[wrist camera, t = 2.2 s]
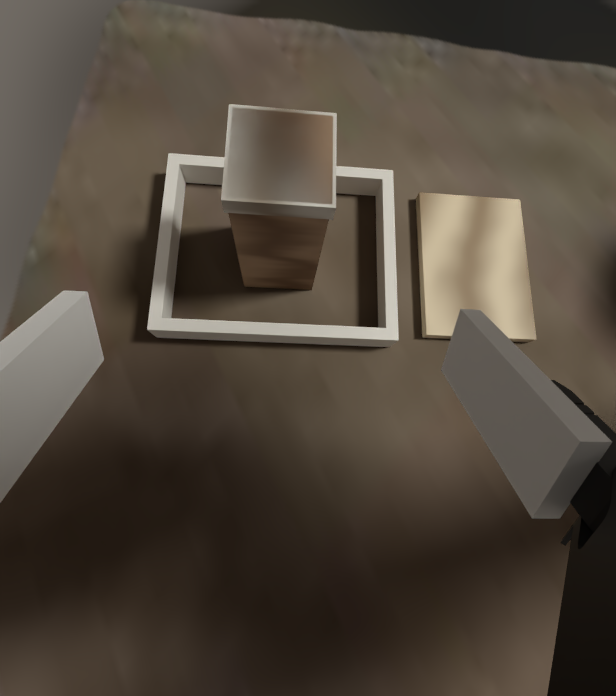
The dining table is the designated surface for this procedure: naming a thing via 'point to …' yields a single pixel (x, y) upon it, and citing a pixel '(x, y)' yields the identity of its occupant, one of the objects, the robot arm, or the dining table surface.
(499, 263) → the board
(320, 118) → the canister
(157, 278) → the white rectangular frame
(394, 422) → the dining table surface
